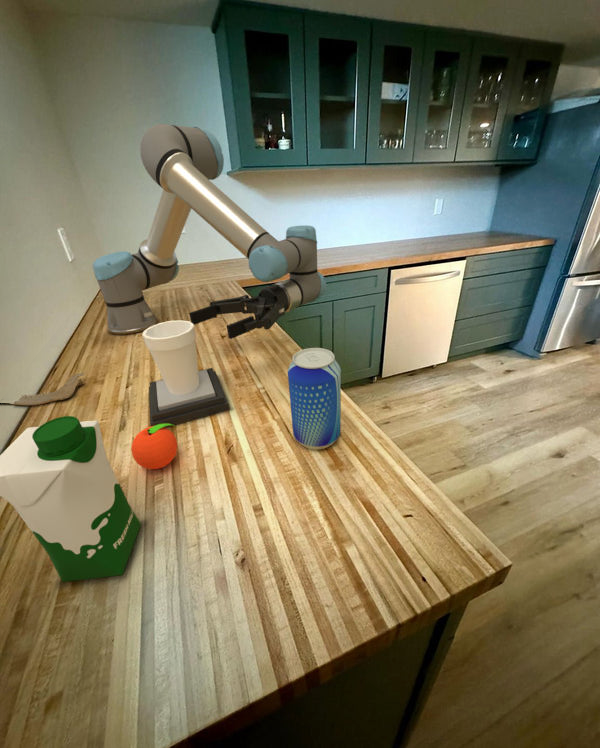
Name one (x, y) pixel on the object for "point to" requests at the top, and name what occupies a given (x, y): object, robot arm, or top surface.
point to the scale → (188, 405)
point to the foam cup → (174, 354)
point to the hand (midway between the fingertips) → (208, 325)
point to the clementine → (154, 446)
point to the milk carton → (70, 498)
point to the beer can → (315, 397)
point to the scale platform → (173, 400)
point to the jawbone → (52, 393)
